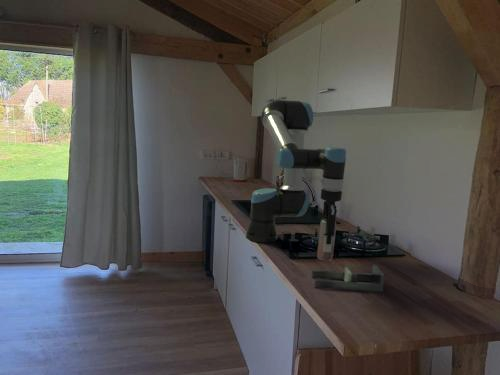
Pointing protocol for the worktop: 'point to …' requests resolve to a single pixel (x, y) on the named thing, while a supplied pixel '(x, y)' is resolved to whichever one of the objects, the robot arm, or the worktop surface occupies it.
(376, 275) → the lane
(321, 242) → the beverage can
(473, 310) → the worktop surface
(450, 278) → the worktop surface
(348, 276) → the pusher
